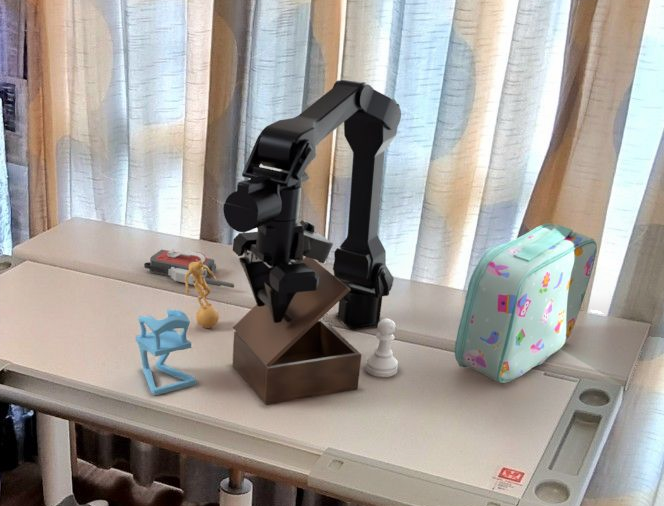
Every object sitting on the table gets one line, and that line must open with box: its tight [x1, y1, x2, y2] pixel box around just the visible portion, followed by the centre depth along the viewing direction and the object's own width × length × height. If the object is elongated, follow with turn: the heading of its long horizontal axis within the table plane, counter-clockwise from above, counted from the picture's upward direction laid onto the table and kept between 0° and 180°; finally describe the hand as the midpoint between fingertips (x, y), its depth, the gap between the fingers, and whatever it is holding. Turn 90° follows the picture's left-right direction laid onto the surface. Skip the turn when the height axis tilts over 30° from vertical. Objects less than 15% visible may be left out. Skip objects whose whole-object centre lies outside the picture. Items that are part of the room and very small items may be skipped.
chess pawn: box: [365, 318, 399, 378], centre depth 166 cm, size 5×5×9 cm
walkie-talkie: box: [143, 248, 235, 289], centre depth 201 cm, size 9×4×20 cm
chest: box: [232, 318, 362, 406], centre depth 165 cm, size 16×14×6 cm
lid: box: [232, 256, 350, 367], centre depth 159 cm, size 16×14×5 cm
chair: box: [135, 308, 197, 396], centre depth 164 cm, size 8×8×12 cm
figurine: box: [184, 260, 220, 329], centre depth 181 cm, size 8×6×12 cm
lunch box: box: [454, 222, 598, 384], centre depth 166 cm, size 27×10×21 cm, turn 134°
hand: (269, 314), depth 159 cm, fingers closed on lid, 6 cm apart
